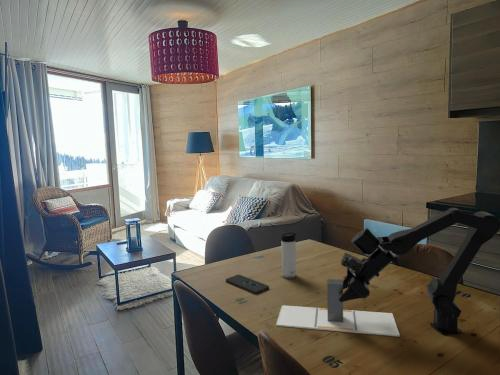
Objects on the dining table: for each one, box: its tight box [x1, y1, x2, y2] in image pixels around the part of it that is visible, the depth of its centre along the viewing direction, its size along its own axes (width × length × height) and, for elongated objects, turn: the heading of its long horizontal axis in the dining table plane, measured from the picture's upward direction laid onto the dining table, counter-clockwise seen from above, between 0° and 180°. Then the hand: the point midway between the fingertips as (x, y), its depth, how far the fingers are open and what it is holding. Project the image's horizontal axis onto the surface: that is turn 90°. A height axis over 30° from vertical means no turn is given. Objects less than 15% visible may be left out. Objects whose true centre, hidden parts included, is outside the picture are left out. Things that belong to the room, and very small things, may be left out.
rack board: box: [275, 305, 401, 337], centre depth 117 cm, size 38×14×1 cm, turn 77°
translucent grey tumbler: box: [326, 278, 344, 322], centre depth 116 cm, size 5×4×13 cm
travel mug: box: [280, 232, 297, 279], centre depth 156 cm, size 6×7×20 cm
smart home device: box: [225, 274, 270, 295], centre depth 149 cm, size 8×2×20 cm
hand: (339, 294), depth 116 cm, fingers open, 9 cm apart
